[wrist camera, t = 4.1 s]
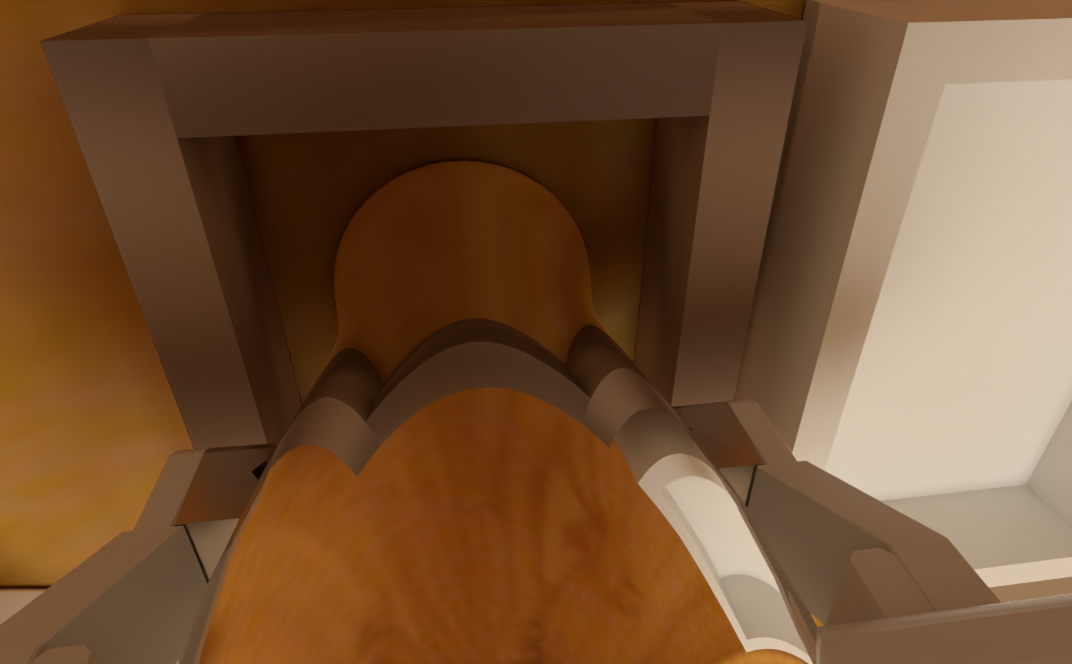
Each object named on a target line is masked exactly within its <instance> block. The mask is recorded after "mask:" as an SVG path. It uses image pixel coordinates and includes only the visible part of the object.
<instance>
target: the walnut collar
mask: <svg viewBox="0 0 1072 664" xmlns="http://www.w3.org/2000/svg"><path fill="white" fill-rule="evenodd" d="M807 22H808V21H806V20H803V19H799V18H796V17H792V16H789V15H785V14H782V13H778V12H775V11H771V10H768V9H764V8H761V7H757V6H753V5H750V4H746V3H743V2H739V1H718V2H674V3H630V4H586V5H542V6H498V7H454V8H410V9H366V10H322V11H278V12H234V13H190V14H146V15H118V16H115V17H112V18H109V19H106V20H103V21H100V22H97V23H94V24H91V25H88V26H85V27H82V28H79V29H76V30H73V31H70V32H67V33H64V34H61V35H58V36H55V37H52V38H48V39H45V40H42V41H40V42H41V45H42V47H43V50H44V53H45V55H46V58H47V61H48V63H49V66H50V69H51V71H52V74H53V77H54V79H55V82H56V84H57V87H58V90H59V92H60V95H61V98H62V100H63V103H64V106H65V108H66V111H67V114H68V116H69V119H70V122H71V124H72V127H73V130H74V132H75V135H76V138H77V140H78V143H79V145H80V148H81V151H82V153H83V156H84V159H85V161H86V164H87V167H88V169H89V172H90V175H91V177H92V180H93V183H94V185H95V188H96V191H97V193H98V196H99V198H100V201H101V204H102V206H103V209H104V212H105V214H106V217H107V220H108V222H109V225H110V228H111V230H112V233H113V236H114V238H115V241H116V244H117V246H118V249H119V251H120V254H121V257H122V259H123V262H124V265H125V267H126V270H127V273H128V275H129V278H130V281H131V283H132V286H133V289H134V291H135V294H136V297H137V299H138V302H139V304H140V307H141V310H142V312H143V315H144V318H145V320H146V323H147V326H148V328H149V331H150V334H151V336H152V339H153V342H154V344H155V347H156V350H157V352H158V355H159V358H160V360H161V363H162V365H163V368H164V371H165V373H166V376H167V379H168V381H169V384H170V387H171V389H172V392H173V395H174V397H175V400H176V403H177V405H178V408H179V411H180V413H181V416H182V418H183V421H184V424H185V426H186V429H187V432H188V434H189V437H190V440H191V442H192V445H193V448H194V449H209V448H215V447H229V446H244V445H258V444H272V443H274V444H276V445H277V446H278V445H279V443H280V441H281V439H282V438H283V436H284V434H285V432H286V431H287V429H288V427H289V425H290V424H291V422H292V420H293V418H294V417H295V415H296V413H297V411H298V410H299V408H300V406H301V405H302V404H301V400H300V396H299V392H298V388H297V384H296V380H295V376H294V372H293V368H292V364H291V360H290V356H289V352H288V348H287V344H286V340H285V336H284V332H283V328H282V324H281V320H280V316H279V311H278V307H277V303H276V299H275V295H274V291H273V287H272V283H271V279H270V275H269V271H268V267H267V263H266V259H265V255H264V251H263V247H262V243H261V239H260V235H259V231H258V227H257V223H256V219H255V215H254V211H253V207H252V203H251V199H250V195H249V191H248V187H247V183H246V179H245V175H244V171H243V167H242V163H241V159H240V155H239V151H238V147H237V143H236V139H235V136H243V135H267V134H290V133H314V132H337V131H361V130H384V129H407V128H431V127H454V126H478V125H501V124H525V123H548V122H572V121H595V120H618V119H642V118H657V122H656V133H655V144H654V155H653V166H652V177H651V188H650V199H649V210H648V221H647V232H646V243H645V255H644V266H643V277H642V288H641V299H640V310H639V321H638V332H637V343H636V354H635V364H636V365H637V367H638V368H639V369H640V370H641V371H642V372H643V373H644V375H645V376H646V377H647V378H648V379H649V381H650V382H651V383H652V384H653V385H654V387H655V388H656V389H657V390H658V391H659V393H660V394H661V395H662V396H663V398H664V399H665V400H666V401H667V402H668V404H669V405H670V406H671V407H674V406H684V405H694V404H705V403H715V402H722V401H727V400H734V395H735V390H736V385H737V380H738V375H739V370H740V365H741V360H742V354H743V349H744V344H745V339H746V334H747V329H748V324H749V319H750V313H751V308H752V303H753V298H754V293H755V288H756V283H757V278H758V273H759V267H760V262H761V257H762V252H763V247H764V242H765V237H766V232H767V226H768V221H769V216H770V211H771V206H772V201H773V196H774V191H775V185H776V180H777V175H778V170H779V165H780V160H781V155H782V150H783V145H784V139H785V134H786V129H787V124H788V119H789V114H790V109H791V104H792V98H793V93H794V88H795V83H796V78H797V73H798V68H799V63H800V57H801V52H802V47H803V42H804V37H805V32H806V27H807Z"/></svg>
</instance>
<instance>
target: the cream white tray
mask: <svg viewBox="0 0 1072 664" xmlns="http://www.w3.org/2000/svg"><path fill="white" fill-rule="evenodd" d="M803 20H806V21H808V22H807V27H806V32H805V37H804V42H803V47H802V52H801V57H800V63H799V68H798V73H797V78H796V83H795V88H794V93H793V98H792V104H791V109H790V114H789V119H788V124H787V129H786V134H785V139H784V145H783V150H782V155H781V160H780V165H779V170H778V175H777V180H776V185H775V191H774V196H773V201H772V206H771V211H770V216H769V221H768V226H767V232H766V237H765V242H764V247H763V252H762V257H761V262H760V267H759V273H758V278H757V283H756V288H755V293H754V298H753V303H752V308H751V313H750V319H749V324H748V329H747V334H746V339H745V344H744V349H743V354H742V360H741V365H740V370H739V375H738V380H737V385H736V390H735V395H734V400H736V399H745V398H752V399H754V400H755V401H756V402H757V403H758V404H759V406H760V407H761V409H762V410H763V412H764V413H765V415H766V416H767V417H768V419H769V420H770V422H771V423H772V425H773V426H774V428H775V429H776V431H777V432H778V433H779V435H780V436H781V438H782V439H783V441H784V442H785V444H786V445H787V447H788V448H789V449H790V451H791V452H792V454H793V455H794V457H795V458H796V460H797V461H808V462H809V463H811V464H813V465H815V466H817V467H819V468H820V469H822V470H824V471H826V472H828V473H830V474H831V475H833V476H835V477H837V478H839V479H841V480H842V481H844V482H846V483H848V484H850V485H852V486H853V487H855V488H857V489H859V490H861V491H862V492H864V493H866V494H868V495H870V496H872V497H873V498H875V499H877V500H879V501H881V502H883V503H884V504H886V505H888V506H890V507H892V508H894V509H895V510H897V511H899V512H901V513H903V514H905V515H906V516H908V517H910V518H912V519H914V520H915V521H917V522H919V523H921V524H923V525H925V526H926V527H928V528H930V529H932V530H934V531H936V532H937V533H939V534H941V535H943V536H945V537H947V538H948V539H949V540H950V542H951V543H952V544H953V545H954V546H955V548H956V549H957V550H958V551H959V552H960V554H961V555H962V556H963V557H964V558H965V560H966V561H967V562H968V563H969V564H970V566H971V567H972V568H973V569H974V570H975V572H976V573H977V574H978V575H979V577H980V578H981V579H982V580H983V581H984V583H985V584H986V585H987V586H988V587H995V586H1003V585H1011V584H1018V583H1026V582H1033V581H1041V580H1048V579H1056V578H1063V577H1072V0H806V6H805V11H804V16H803Z"/></svg>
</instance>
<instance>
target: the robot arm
mask: <svg viewBox="0 0 1072 664" xmlns="http://www.w3.org/2000/svg"><path fill="white" fill-rule="evenodd" d="M672 408H673V410H674V411H675V412H676V413H677V414H678V416H679V417H680V418H681V419H682V420H683V422H684V423H685V424H686V425H687V426H688V428H689V429H690V430H691V431H692V433H693V434H694V435H695V437H696V438H697V439H698V441H699V442H700V444H701V445H702V446H703V448H704V449H705V450H706V452H707V453H708V455H709V456H710V457H711V459H712V460H713V461H714V463H715V464H716V465H717V467H718V468H719V470H720V471H721V472H722V474H723V475H724V476H725V478H726V479H727V481H728V482H729V483H730V485H731V486H732V487H733V489H734V490H735V492H736V493H737V494H738V496H739V497H740V498H741V500H742V501H743V502H744V504H745V505H746V507H747V508H748V509H749V511H750V512H751V514H752V516H753V517H754V519H755V521H756V522H757V524H758V526H759V528H760V529H761V531H762V533H763V534H764V536H765V538H766V540H767V541H768V543H769V545H770V546H771V548H772V550H773V551H774V553H775V555H776V557H777V558H778V560H779V562H780V563H781V565H782V567H783V569H784V570H785V572H786V574H787V575H788V577H789V579H790V580H791V582H792V584H793V586H794V587H795V589H796V591H797V592H798V594H799V596H800V598H801V599H802V601H803V603H804V604H805V606H806V608H807V610H808V611H809V612H810V613H811V614H813V615H814V616H815V617H816V618H817V619H818V620H820V621H821V622H822V623H823V624H824V625H825V626H824V627H817V628H818V630H819V632H820V634H821V636H822V638H823V640H824V642H825V644H826V646H827V648H828V650H829V652H830V654H831V656H832V658H833V660H834V662H835V664H1072V593H1070V594H1063V595H1056V596H1048V597H1041V598H1033V599H1026V600H1018V601H1011V602H1003V603H1001V602H1000V601H999V599H998V598H997V597H996V596H995V595H994V593H993V592H992V591H991V590H990V589H989V587H988V586H987V585H986V584H985V583H984V581H983V580H982V579H981V578H980V577H979V575H978V574H977V573H976V572H975V570H974V569H973V568H972V567H971V566H970V564H969V563H968V562H967V561H966V560H965V558H964V557H963V556H962V555H961V554H960V552H959V551H958V550H957V549H956V548H955V546H954V545H953V544H952V543H951V542H950V540H949V539H948V538H947V537H945V536H943V535H941V534H939V533H937V532H936V531H934V530H932V529H930V528H928V527H926V526H925V525H923V524H921V523H919V522H917V521H915V520H914V519H912V518H910V517H908V516H906V515H905V514H903V513H901V512H899V511H897V510H895V509H894V508H892V507H890V506H888V505H886V504H884V503H883V502H881V501H879V500H877V499H875V498H873V497H872V496H870V495H868V494H866V493H864V492H862V491H861V490H859V489H857V488H855V487H853V486H852V485H850V484H848V483H846V482H844V481H842V480H841V479H839V478H837V477H835V476H833V475H831V474H830V473H828V472H826V471H824V470H822V469H820V468H819V467H817V466H815V465H813V464H811V463H809V462H808V461H797V460H796V458H795V457H794V455H793V454H792V452H791V451H790V449H789V448H788V447H787V445H786V444H785V442H784V441H783V439H782V438H781V436H780V435H779V433H778V432H777V431H776V429H775V428H774V426H773V425H772V423H771V422H770V420H769V419H768V417H767V416H766V415H765V413H764V412H763V410H762V409H761V407H760V406H759V404H758V403H757V402H756V401H755V400H754V399H752V398H745V399H736V400H727V401H722V402H715V403H705V404H694V405H684V406H674V407H672ZM276 448H277V445H276V444H274V443H272V444H258V445H244V446H229V447H215V448H209V449H194V450H181V451H176V452H174V453H173V454H172V455H170V457H169V458H168V460H167V462H166V464H165V466H164V468H163V470H162V472H161V474H160V476H159V478H158V480H157V482H156V484H155V486H154V488H153V491H152V493H151V495H150V497H149V499H148V501H147V503H146V505H145V507H144V509H143V511H142V513H141V515H140V517H139V519H138V521H137V523H136V525H135V528H134V530H133V531H127V532H122V533H121V534H119V535H118V536H117V537H115V538H114V539H113V540H111V541H110V542H109V543H107V544H106V545H105V546H103V547H102V548H101V549H99V550H98V551H97V552H96V553H94V554H93V555H92V556H90V557H89V558H88V559H86V560H85V561H84V562H82V563H81V564H80V565H78V566H77V567H76V568H74V569H73V570H72V571H71V572H69V573H68V574H67V575H65V576H64V577H63V578H61V579H60V580H59V581H57V582H56V583H55V584H53V585H52V586H51V587H49V588H48V589H47V590H46V591H44V592H43V593H42V594H40V595H39V596H38V597H36V598H35V599H34V600H32V601H31V602H30V603H28V604H27V605H26V606H24V607H23V608H22V609H21V610H19V611H18V612H17V613H15V614H14V615H13V616H11V617H10V618H9V619H7V620H6V621H5V622H3V623H2V624H1V625H0V664H176V663H177V662H178V661H179V659H180V657H181V654H182V652H183V649H184V646H185V644H186V641H187V638H188V636H189V633H190V630H191V627H192V625H193V622H194V619H195V617H196V614H197V611H198V609H199V606H200V603H201V600H202V598H203V595H204V592H205V590H206V587H207V585H208V582H209V580H210V578H211V576H212V574H213V571H214V569H215V567H216V565H217V563H218V561H219V559H220V557H221V555H222V553H223V551H224V549H225V547H226V545H227V543H228V541H229V539H230V537H231V535H232V533H233V531H234V529H235V526H236V524H237V522H238V520H239V518H240V516H241V514H242V512H243V510H244V508H245V506H246V504H247V502H248V500H249V498H250V496H251V494H252V492H253V490H254V488H255V486H256V484H257V482H258V480H259V478H260V476H261V474H262V473H263V471H264V469H265V467H266V466H267V464H268V462H269V460H270V459H271V457H272V455H273V453H274V452H275V450H276Z"/></svg>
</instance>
